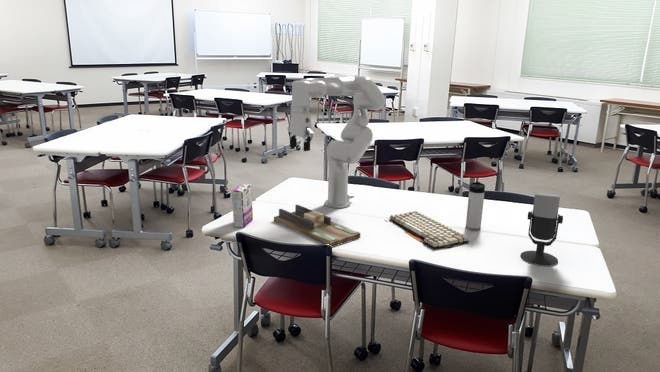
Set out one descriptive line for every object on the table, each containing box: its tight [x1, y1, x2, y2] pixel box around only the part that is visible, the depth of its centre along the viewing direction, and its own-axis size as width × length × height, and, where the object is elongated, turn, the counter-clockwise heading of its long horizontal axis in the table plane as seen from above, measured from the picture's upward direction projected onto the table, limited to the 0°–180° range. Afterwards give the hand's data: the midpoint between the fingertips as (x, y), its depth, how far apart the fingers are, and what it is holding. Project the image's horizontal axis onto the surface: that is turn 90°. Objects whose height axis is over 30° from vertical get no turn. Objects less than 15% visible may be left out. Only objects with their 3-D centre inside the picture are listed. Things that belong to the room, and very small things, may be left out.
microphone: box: [519, 192, 564, 267], centre depth 180 cm, size 13×13×25 cm
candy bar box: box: [231, 183, 254, 229], centre depth 212 cm, size 11×5×16 cm, turn 168°
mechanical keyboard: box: [384, 210, 470, 251], centre depth 209 cm, size 38×19×3 cm, turn 26°
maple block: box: [304, 210, 325, 227], centre depth 209 cm, size 6×6×4 cm
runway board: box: [273, 204, 361, 247], centre depth 208 cm, size 16×38×5 cm, turn 41°
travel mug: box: [465, 181, 486, 232], centre depth 211 cm, size 6×7×20 cm
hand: (299, 149), depth 217 cm, fingers open, 9 cm apart
